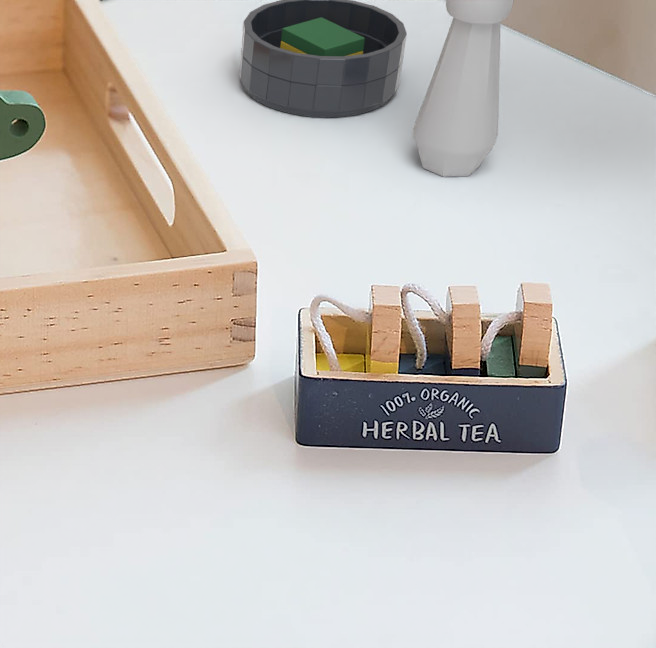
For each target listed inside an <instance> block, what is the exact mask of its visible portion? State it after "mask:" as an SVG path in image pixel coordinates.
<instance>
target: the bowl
mask: <svg viewBox="0 0 656 648" xmlns="http://www.w3.org/2000/svg"><path fill="white" fill-rule="evenodd" d="M321 17H322V18H324V19H326V20H328V21H330V22H332V23H335V24H337V25H339V26H341V27H343V28H345V29H347V30H349V31H351V32H353V33H355V34H357V35H360V36H362V37H364V38H365V41H364V49H363V54H360V55H351V56H316V55H309V54H302V53H295V52H292V51H288V50H285V49H281V48H280V46H281V37H282V28H285V27H288V26H292V25H296V24H299V23H303V22H306V21H310V20H313V19H317V18H321ZM241 35H242V36H241V48H240V60H239V79H240V82H241V84H242V86H243V88H244V90H245V92H246V93H247V94H248V95H249V97H250V98H252V99H253V100H254V101H256V102H258V103H260V104H262V105H264V106H266V107H268V108H270V109H273V110H276V111H280V112H283V113H287V114H292V115H296V116H303V117H312V118H343V117H351V116H358V115H362V114H365V113H369V112H372V111H375V110H377V109H379V108H381V107H383V106H384V105H385V104H387V103H388V102H389V101H390V100H391V98H392V96H394V95H395V94H396V92H397V89H398V88H399V85H400V82H401V75H402V68H403V60H404V56H405V55H404V54H405V48H406V41H407V35H408V33H407V30H406V27H405V24H404V22H403V21H401V20H400V19H399V18H397V17H396V16H395V15H394V14H393V13H391V12H390V11H389V12H388V11H387V10H385V9H382V8H380V7H378V6H375V5H372V4H368V3H366V2H365V3H364V2H361V1H357V0H276V1H272V2H268V3H265V4H262V5H260V6H258V7H257V8H255V9H253V10H250V12H249V13H248V14H247V16H246V17H245V18H244V20H243V25H242V34H241Z"/></svg>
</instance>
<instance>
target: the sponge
mask: <svg viewBox="0 0 656 648" xmlns="http://www.w3.org/2000/svg"><path fill="white" fill-rule="evenodd" d="M364 41H365V38H364V37H362V36H360V35H357V34H355V33H353V32H351V31H349V30H347V29H345V28H343V27H341V26H339V25H337V24H335V23H332V22H330V21H328V20H326V19H324V18H322V17H321V18H317V19H313V20H310V21H306V22H303V23H299V24H296V25H292V26H288V27H285V28H282V37H281V46H280V48H281V49H285V50H288V51H292V52H295V53H302V54H309V55H316V56H351V55H360V54H363V49H364Z"/></svg>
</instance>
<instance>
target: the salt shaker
mask: <svg viewBox="0 0 656 648" xmlns="http://www.w3.org/2000/svg"><path fill="white" fill-rule="evenodd" d="M514 1H515V0H445V8H446V12H447V13H448V16H450V17H452V20H451V23H450V26H449V30H448V32H447V34H446V38H445V40H444V43H443V46H442V49H441V52H440V54H439V57H438V59H437V63H436V66H435V68H434V71H433V75H432V77H431V80H430V83H429V85H428V88H427V90H426V94H425V95H424V98H423V101H422V104H421V105H420V106H421V107H420V109H419V112H418V115H417V117H416V120H415V122H414V125H413V127H412V137H413V139H414V143H415V145H416V147H417V150H418V154H419V158H420V162H421V167H422V168H423V169H425V170H427V171H429V172H432V173H434V174H436V175H438V176H441V177H445V178H446V177H470V176H471V175H472V174H473V173H474V172H475V171H476V170H478V168H480V166H481V165H482V163H483V162H484V160H485V159H486V157H488V155H489V153H490V152H491V151H492V150H493V148H494V146H495V145H496V144H495V143H496V141H497V139H498V136H499V111H500V110H499V108H500V106H499V105H500V104H499V103H500V62H501V61H500V60H501V58H500V57H501V23H502V22H503V21H505V20H507V19H508V17H509V15H510V13H511V11H512V9H513V5H514Z"/></svg>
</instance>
